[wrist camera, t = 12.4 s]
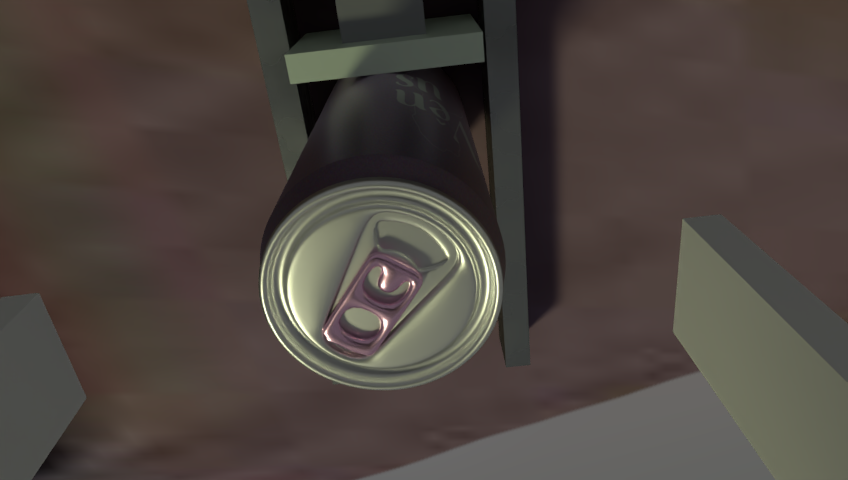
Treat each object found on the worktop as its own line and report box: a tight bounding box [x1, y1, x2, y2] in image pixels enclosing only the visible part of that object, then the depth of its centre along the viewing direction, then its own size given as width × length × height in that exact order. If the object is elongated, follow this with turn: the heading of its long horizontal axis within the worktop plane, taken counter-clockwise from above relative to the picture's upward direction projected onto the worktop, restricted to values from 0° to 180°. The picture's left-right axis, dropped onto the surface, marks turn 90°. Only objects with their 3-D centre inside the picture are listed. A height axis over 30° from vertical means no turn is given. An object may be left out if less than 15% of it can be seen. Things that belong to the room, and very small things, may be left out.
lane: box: [247, 0, 530, 384], centre depth 25 cm, size 10×23×6 cm, turn 6°
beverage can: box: [259, 67, 506, 390], centre depth 21 cm, size 6×6×15 cm
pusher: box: [284, 0, 485, 84], centre depth 23 cm, size 7×3×5 cm, turn 96°
